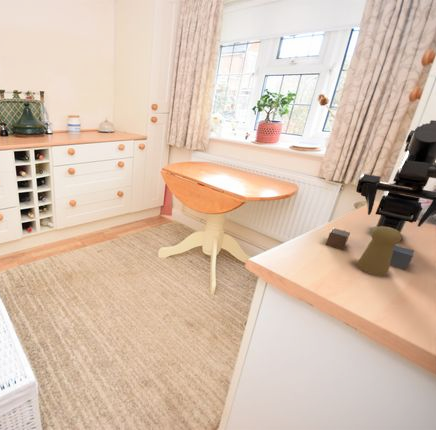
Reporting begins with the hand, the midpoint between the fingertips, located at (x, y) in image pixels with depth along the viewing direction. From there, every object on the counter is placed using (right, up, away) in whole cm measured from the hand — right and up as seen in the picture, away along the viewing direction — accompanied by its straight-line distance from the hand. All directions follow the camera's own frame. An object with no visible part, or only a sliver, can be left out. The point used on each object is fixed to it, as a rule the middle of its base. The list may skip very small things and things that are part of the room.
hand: (392, 219), depth 71 cm
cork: (-5, -12, +1) cm, 13 cm away
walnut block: (-5, -7, +12) cm, 15 cm away
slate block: (+4, -11, +3) cm, 13 cm away
